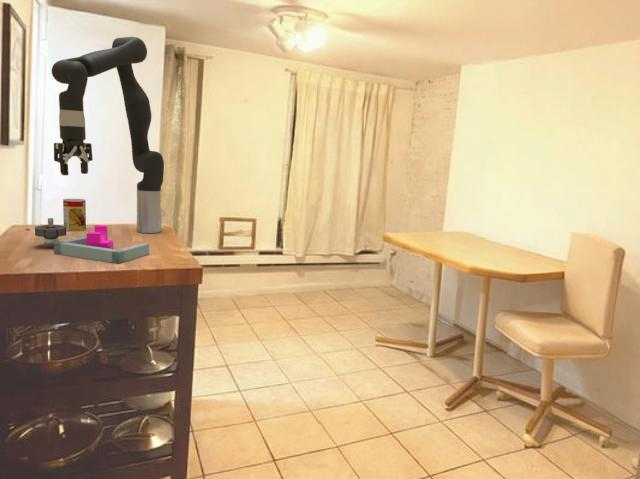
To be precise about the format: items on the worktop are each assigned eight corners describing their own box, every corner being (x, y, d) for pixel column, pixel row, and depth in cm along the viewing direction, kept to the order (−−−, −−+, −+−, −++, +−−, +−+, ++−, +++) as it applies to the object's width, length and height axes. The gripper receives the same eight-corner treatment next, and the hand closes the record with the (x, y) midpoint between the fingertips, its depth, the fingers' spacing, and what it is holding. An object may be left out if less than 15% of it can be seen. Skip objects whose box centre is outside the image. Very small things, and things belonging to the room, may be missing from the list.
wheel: (50, 231, 162) (50, 223, 161) (72, 234, 159) (72, 226, 159) (28, 234, 153) (28, 227, 152) (51, 238, 151) (50, 230, 150)
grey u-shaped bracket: (88, 245, 163) (88, 235, 162) (149, 254, 157) (149, 244, 156) (54, 253, 148) (53, 242, 148) (119, 263, 142) (119, 252, 142)
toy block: (108, 256, 150) (108, 234, 149) (86, 256, 148) (86, 233, 147) (115, 246, 164) (115, 225, 163) (95, 246, 162) (95, 225, 161)
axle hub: (51, 244, 160) (50, 217, 158) (61, 246, 158) (61, 218, 157) (40, 246, 155) (39, 218, 154) (51, 248, 154) (50, 220, 153)
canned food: (90, 230, 189) (89, 200, 186) (70, 232, 182) (70, 201, 180) (79, 227, 193) (78, 198, 191) (59, 228, 186) (59, 198, 184)
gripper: (79, 125, 162) (81, 172, 165) (45, 123, 148) (48, 174, 151) (97, 126, 160) (99, 174, 163) (64, 124, 146) (67, 176, 150)
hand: (74, 174), depth 157 cm, fingers open, 8 cm apart
